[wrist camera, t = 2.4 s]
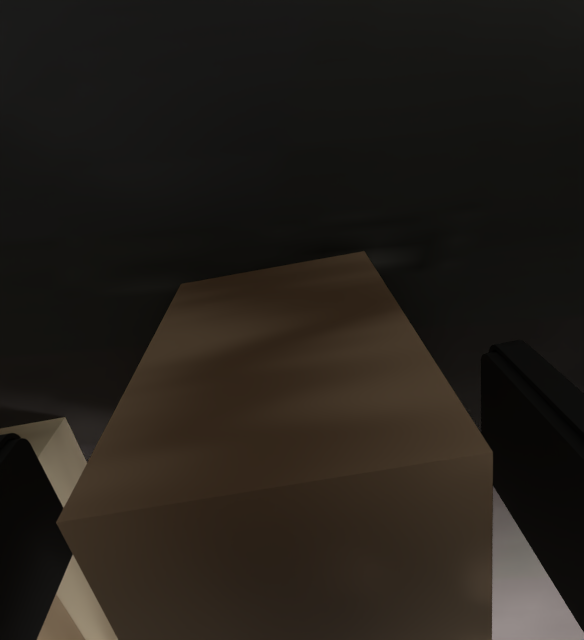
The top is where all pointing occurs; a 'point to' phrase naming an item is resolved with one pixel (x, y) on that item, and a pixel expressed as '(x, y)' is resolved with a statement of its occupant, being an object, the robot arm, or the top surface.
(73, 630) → the upper maple slab
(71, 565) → the lower maple slab
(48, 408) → the top surface
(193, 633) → the walnut block
